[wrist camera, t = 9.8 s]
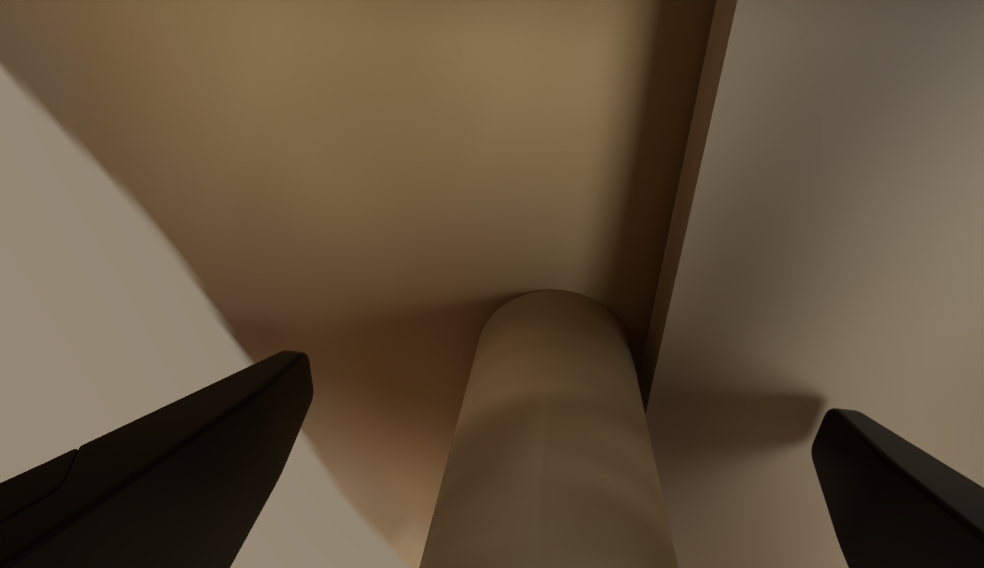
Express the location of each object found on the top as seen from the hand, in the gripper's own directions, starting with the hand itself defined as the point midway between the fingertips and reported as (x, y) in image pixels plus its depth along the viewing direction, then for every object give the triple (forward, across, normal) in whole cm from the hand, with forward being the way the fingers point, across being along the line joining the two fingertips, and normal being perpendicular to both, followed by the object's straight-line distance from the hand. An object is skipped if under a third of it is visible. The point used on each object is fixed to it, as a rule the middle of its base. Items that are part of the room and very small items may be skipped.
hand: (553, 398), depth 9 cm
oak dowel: (+1, 0, 0) cm, 1 cm away
